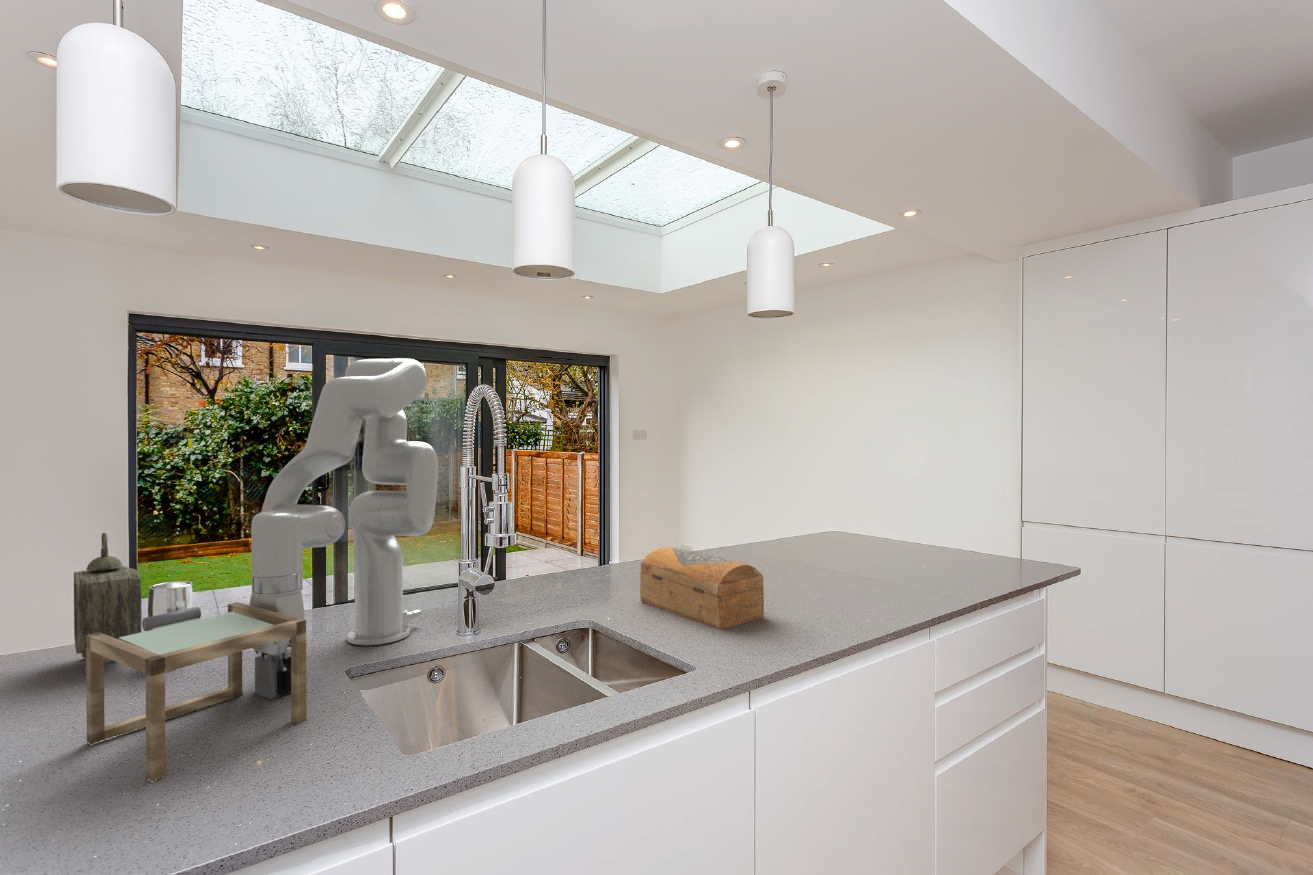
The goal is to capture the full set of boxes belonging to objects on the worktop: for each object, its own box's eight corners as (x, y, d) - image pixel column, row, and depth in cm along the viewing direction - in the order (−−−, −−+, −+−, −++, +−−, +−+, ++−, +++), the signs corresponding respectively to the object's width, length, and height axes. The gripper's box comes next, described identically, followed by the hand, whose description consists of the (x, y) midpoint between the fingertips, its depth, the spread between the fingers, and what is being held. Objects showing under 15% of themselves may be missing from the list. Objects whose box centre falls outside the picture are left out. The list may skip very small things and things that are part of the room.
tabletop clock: (74, 658, 123) (73, 531, 123) (134, 647, 130) (133, 526, 129) (77, 679, 113) (76, 540, 113) (142, 665, 119) (141, 534, 119)
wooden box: (768, 617, 151) (768, 560, 151) (717, 631, 141) (717, 569, 141) (687, 592, 175) (687, 542, 175) (639, 602, 165) (639, 549, 165)
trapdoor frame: (237, 692, 107) (237, 601, 107) (306, 719, 97) (306, 619, 97) (86, 743, 90) (85, 634, 90) (151, 782, 80) (150, 660, 80)
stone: (284, 682, 111) (284, 648, 111) (301, 688, 109) (300, 653, 109) (254, 692, 107) (254, 657, 107) (271, 699, 105) (271, 663, 104)
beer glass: (140, 671, 117) (140, 590, 116) (159, 658, 123) (158, 581, 123) (184, 667, 118) (183, 588, 118) (200, 654, 125) (199, 579, 125)
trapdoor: (222, 614, 105) (222, 599, 105) (280, 633, 96) (280, 617, 96) (108, 640, 92) (109, 623, 92) (164, 665, 83) (164, 647, 83)
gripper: (227, 581, 109) (228, 686, 109) (283, 594, 100) (284, 708, 100) (272, 573, 115) (272, 672, 115) (328, 584, 107) (328, 691, 107)
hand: (278, 687), depth 108 cm, fingers closed on stone, 5 cm apart
